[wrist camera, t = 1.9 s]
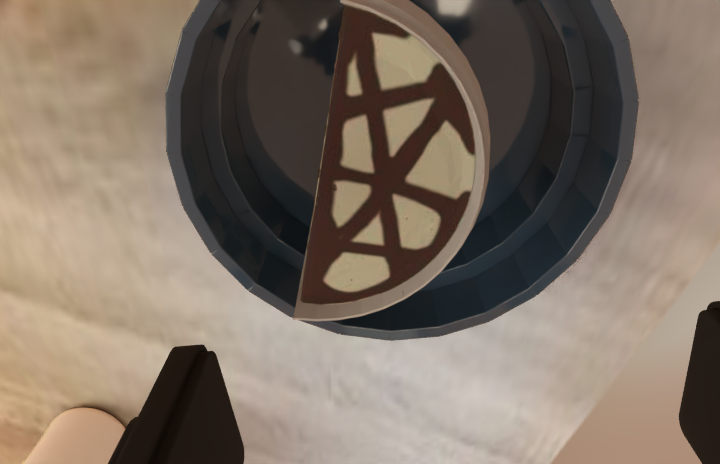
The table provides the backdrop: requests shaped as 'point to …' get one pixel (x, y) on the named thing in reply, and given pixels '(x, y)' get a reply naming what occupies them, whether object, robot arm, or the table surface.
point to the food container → (393, 163)
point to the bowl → (306, 138)
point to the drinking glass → (78, 438)
